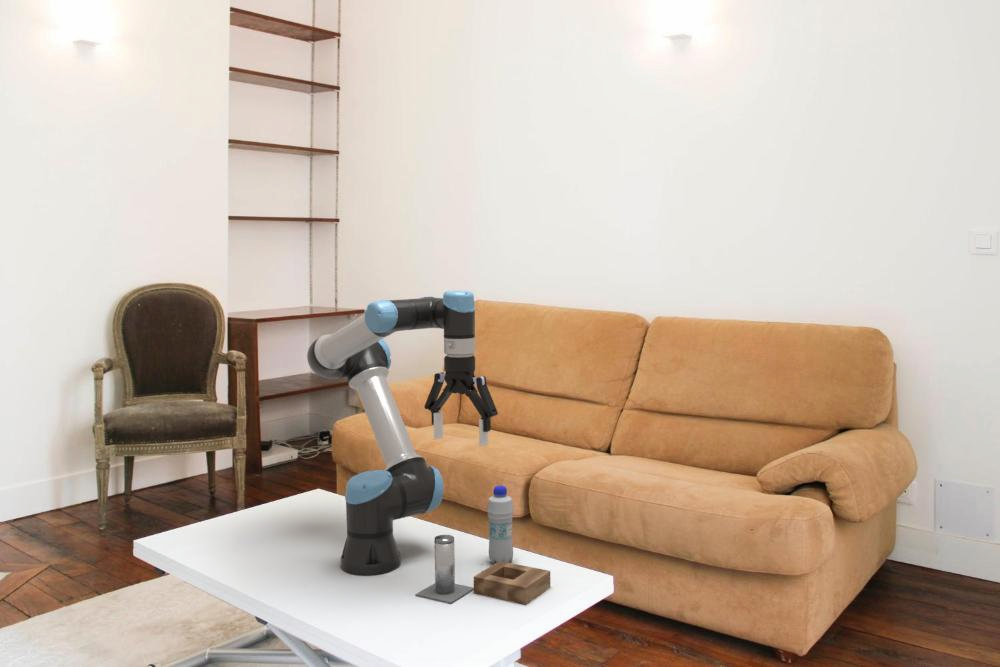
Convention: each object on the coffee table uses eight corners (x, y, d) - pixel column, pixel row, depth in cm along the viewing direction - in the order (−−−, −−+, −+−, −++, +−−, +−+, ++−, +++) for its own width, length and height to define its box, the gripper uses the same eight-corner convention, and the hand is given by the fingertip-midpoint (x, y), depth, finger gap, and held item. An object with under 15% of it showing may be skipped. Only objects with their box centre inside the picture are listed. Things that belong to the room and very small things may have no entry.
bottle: (511, 567, 232) (510, 490, 229) (485, 565, 233) (484, 488, 231) (516, 558, 238) (515, 482, 236) (491, 556, 239) (490, 481, 237)
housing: (473, 593, 215) (473, 576, 215) (499, 576, 225) (499, 560, 225) (525, 604, 208) (525, 587, 207) (550, 587, 218) (550, 570, 218)
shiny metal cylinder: (431, 592, 215) (430, 539, 213) (442, 585, 219) (441, 533, 217) (447, 596, 212) (447, 542, 211) (458, 589, 216) (458, 536, 215)
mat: (415, 595, 214) (415, 594, 214) (439, 581, 222) (439, 580, 222) (451, 604, 209) (451, 602, 209) (474, 589, 217) (474, 587, 217)
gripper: (409, 353, 225) (411, 438, 227) (493, 360, 211) (494, 450, 213) (428, 350, 231) (429, 433, 233) (511, 356, 217) (512, 444, 220)
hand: (460, 441), depth 223 cm, fingers open, 13 cm apart
